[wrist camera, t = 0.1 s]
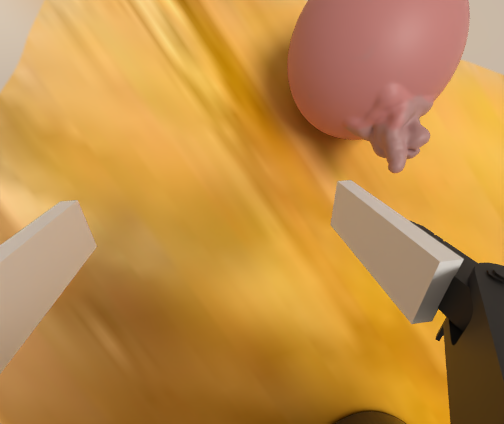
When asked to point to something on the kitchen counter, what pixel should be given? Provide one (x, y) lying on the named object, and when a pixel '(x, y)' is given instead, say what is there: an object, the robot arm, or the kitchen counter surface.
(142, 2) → the kitchen counter surface
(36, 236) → the robot arm
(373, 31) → the balloon
